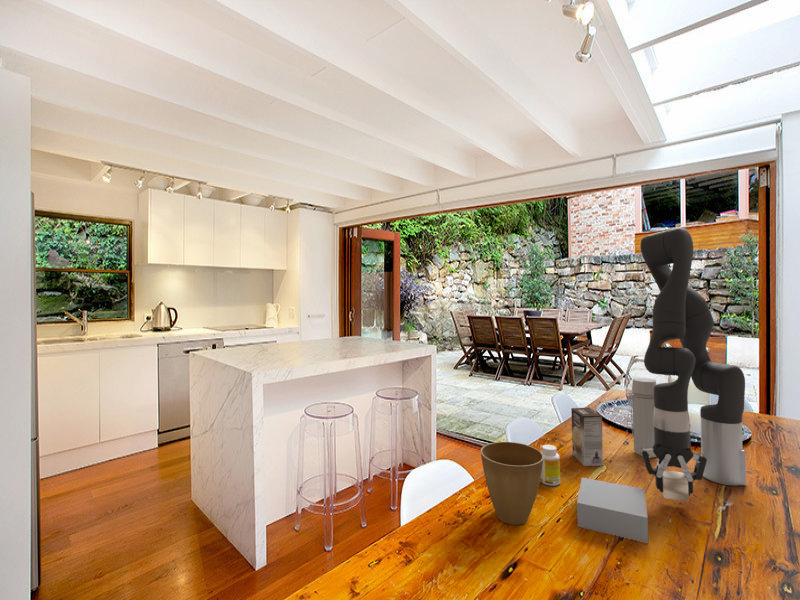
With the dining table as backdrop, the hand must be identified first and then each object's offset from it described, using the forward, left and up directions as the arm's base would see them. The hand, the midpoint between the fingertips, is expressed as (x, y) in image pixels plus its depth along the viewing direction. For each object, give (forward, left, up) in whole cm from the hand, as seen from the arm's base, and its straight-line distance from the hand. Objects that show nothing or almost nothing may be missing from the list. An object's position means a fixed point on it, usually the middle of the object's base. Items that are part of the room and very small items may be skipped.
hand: (673, 492), depth 98 cm
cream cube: (0, 0, -1) cm, 1 cm away
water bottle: (+3, -34, -4) cm, 34 cm away
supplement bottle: (+30, -2, -4) cm, 30 cm away
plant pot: (+37, +20, -4) cm, 42 cm away
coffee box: (+20, -22, -4) cm, 30 cm away
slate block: (+15, +12, -4) cm, 19 cm away
